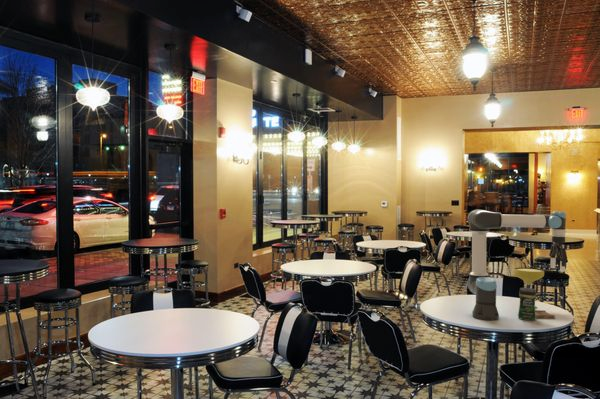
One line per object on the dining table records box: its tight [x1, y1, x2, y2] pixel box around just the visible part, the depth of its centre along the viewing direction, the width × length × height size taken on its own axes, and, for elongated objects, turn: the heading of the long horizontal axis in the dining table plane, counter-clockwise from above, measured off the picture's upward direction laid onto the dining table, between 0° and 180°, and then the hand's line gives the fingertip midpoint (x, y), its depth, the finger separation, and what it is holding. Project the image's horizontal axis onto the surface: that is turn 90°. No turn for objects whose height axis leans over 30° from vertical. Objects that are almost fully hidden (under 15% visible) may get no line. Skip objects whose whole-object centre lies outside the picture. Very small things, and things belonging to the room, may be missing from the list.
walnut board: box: [535, 309, 556, 319], centre depth 313 cm, size 13×13×2 cm
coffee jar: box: [517, 287, 537, 321], centre depth 304 cm, size 10×8×19 cm
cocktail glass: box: [514, 267, 545, 310], centre depth 336 cm, size 18×18×25 cm
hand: (557, 269), depth 318 cm, fingers open, 13 cm apart
